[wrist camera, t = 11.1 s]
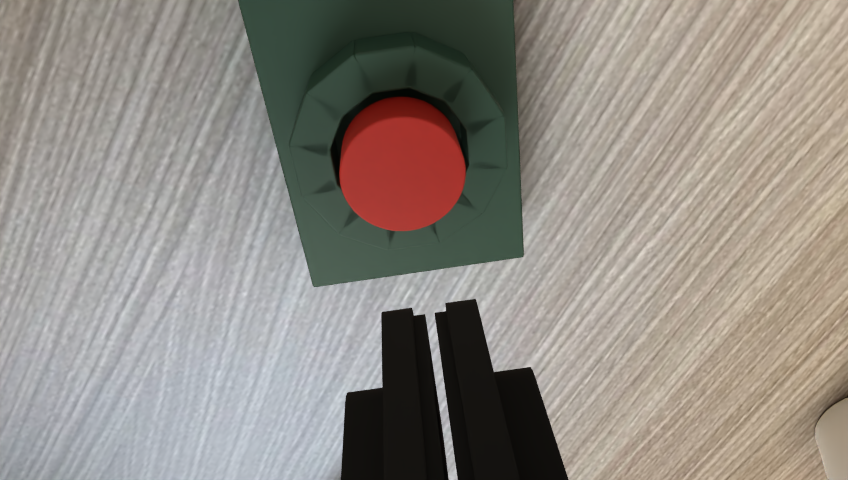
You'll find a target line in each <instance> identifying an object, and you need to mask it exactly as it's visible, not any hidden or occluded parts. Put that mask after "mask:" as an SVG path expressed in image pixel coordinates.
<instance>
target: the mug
mask: <svg viewBox="0 0 848 480" xmlns="http://www.w3.org/2000/svg"><path fill="white" fill-rule="evenodd" d="M815 438H816V442H817V445H818V448H819V452H820V455H821V458H822V462H823V465H824V469H825V472H826V475H827V479H828V480H848V397H847V398H845V399H843V400H841V401H839V402H838V403H836V404H835V405H833V406H832V407H830V408H829V409H828V410H827V411H826V412H825V413H824V414H823V415H822V416H821V418H820V419H819V421H818V423H817V425H816V428H815Z"/></svg>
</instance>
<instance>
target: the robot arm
mask: <svg viewBox="0 0 848 480" xmlns="http://www.w3.org/2000/svg"><path fill="white" fill-rule="evenodd" d="M435 319H436V326H437V333H438V340H439V347H440V354H441V362H442V369H443V376H444V383H445V390H446V397H447V405H448V412H449V419H450V426H451V433H452V440H453V448H454V455H455V462H456V469H457V476H458V480H568V477H567V474H566V471H565V468H564V465H563V462H562V458H561V455H560V452H559V449H558V446H557V443H556V440H555V437H554V434H553V431H552V428H551V425H550V422H549V418H548V415H547V412H546V409H545V406H544V403H543V400H542V397H541V394H540V391H539V388H538V385H537V382H536V378H535V376H534V373H533V370H532V369H531V367H528V368H521V369H513V370H506V371H499V372H494V371H493V367H492V363H491V359H490V355H489V351H488V347H487V343H486V339H485V334H484V330H483V326H482V322H481V318H480V314H479V310H478V306H477V302H476V299H472V300H465V301H458V302H450V303H446V311H445V312H438V313H435ZM382 381H383V388H377V389H370V390H363V391H356V392H349V393H347V395H346V402H345V418H344V436H343V453H342V471H341V480H449V479H448V471H447V463H446V455H445V447H444V439H443V431H442V424H441V417H440V411H439V404H438V397H437V391H436V384H435V377H434V371H433V364H432V357H431V351H430V344H429V337H428V331H427V324H426V317H425V314H424V315H416V316H414V315H413V310H412V308H407V309H400V310H393V311H386V312H382Z"/></svg>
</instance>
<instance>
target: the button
mask: <svg viewBox="0 0 848 480" xmlns="http://www.w3.org/2000/svg"><path fill="white" fill-rule="evenodd" d="M465 177H466V166H465V160H464V157H463V154H462V151H461V148H460V145H459V142H458V139H457V136H456V133H455V131H454V128H453V126H452V124H451V123H450V121H449V120H448V119H447V117H446V116H445V115H444V114H443V113H442V112H441V111H440V110H438V109H437V108H436V107H434V106H433V105H431V104H429V103H427V102H425V101H423V100H419V99H416V98H411V97H390V98H385V99H382V100H379V101H376V102H374V103H372V104H370V105H369V106H367V107H366V108H364V109H363V110H362V111H360V112H359V113H358V114H357V115H356V116H355V117H354V119H353V120H352V121H351V123H350V124H349V126H348V128H347V130H346V132H345V134H344V138H343V141H342V148H341V159H340V170H339V178H340V185H341V189H342V192H343V195H344V197H345V199H346V201H347V202H348V204H349V205H350V207H351V208H352V209H353V210H354V212H356V213H357V214H358V215H359V216H360V217H361V218H363V219H364V220H365V221H367V222H369V223H371V224H372V225H375V226H377V227H380V228H383V229H387V230H393V231H411V230H416V229H420V228H423V227H426V226H428V225H431V224H433V223H435V222H436V221H438V220H440V219H441V218H442V217H443V216H445V215H446V214H447V213H448V212H449V211H450V210H451V209H452V208H453V206H454V205H455V204H456V202H457V201H458V199H459V197H460V195H461V193H462V190H463V187H464V184H465Z"/></svg>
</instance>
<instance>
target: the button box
mask: <svg viewBox="0 0 848 480" xmlns="http://www.w3.org/2000/svg"><path fill="white" fill-rule="evenodd" d="M238 2H239V6H240V9H241V13H242V17H243V21H244V25H245V28H246V32H247V36H248V40H249V44H250V48H251V51H252V55H253V59H254V63H255V67H256V70H257V74H258V78H259V82H260V86H261V89H262V93H263V97H264V101H265V105H266V109H267V112H268V116H269V120H270V124H271V128H272V131H273V135H274V139H275V143H276V147H277V150H278V154H279V158H280V162H281V166H282V170H283V173H284V177H285V181H286V185H287V189H288V192H289V196H290V200H291V204H292V208H293V211H294V215H295V219H296V223H297V227H298V231H299V234H300V238H301V242H302V246H303V250H304V253H305V257H306V261H307V265H308V269H309V272H310V276H311V280H312V284H313V286H314V287H319V286H326V285H333V284H340V283H347V282H354V281H360V280H367V279H374V278H381V277H388V276H395V275H402V274H409V273H416V272H423V271H430V270H437V269H444V268H450V267H457V266H464V265H471V264H478V263H485V262H492V261H499V260H506V259H513V258H520V257H523V256H524V248H523V223H522V199H521V175H520V151H519V127H518V102H517V78H516V54H515V30H514V5H513V0H238ZM390 97H411V98H416V99H419V100H423V101H425V102H427V103H429V104H431V105H433V106H434V107H436V108H437V109H438V110H440V111H441V112H442V113H443V114H444V115H445V116H446V117H447V119H448V120H449V121H450V123H451V124H452V126H453V128H454V131H455V133H456V136H457V139H458V142H459V145H460V148H461V151H462V154H463V157H464V160H465V166H466V177H465V184H464V187H463V190H462V193H461V195H460V197H459V199H458V201H457V202H456V204H455V205H454V206H453V208H452V209H451V210H450V211H449V212H448V213H447V214H446V215H445V216H443V217H442V218H441V219H440V220H438V221H436V222H435V223H433V224H431V225H428V226H426V227H423V228H420V229H416V230H411V231H393V230H387V229H383V228H380V227H377V226H375V225H372V224H371V223H369V222H367V221H365V220H364V219H363V218H361V217H360V216H359V215H358V214H357V213H356V212H354V210H353V209H352V208H351V207H350V205H349V204H348V202H347V201H346V199H345V197H344V195H343V192H342V189H341V185H340V178H339V170H340V159H341V148H342V141H343V138H344V134H345V132H346V130H347V128H348V126H349V124H350V123H351V121H352V120H353V119H354V117H355V116H356V115H357V114H358V113H359V112H360V111H362V110H363V109H364V108H366V107H367V106H369V105H370V104H372V103H374V102H376V101H379V100H382V99H385V98H390Z"/></svg>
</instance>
